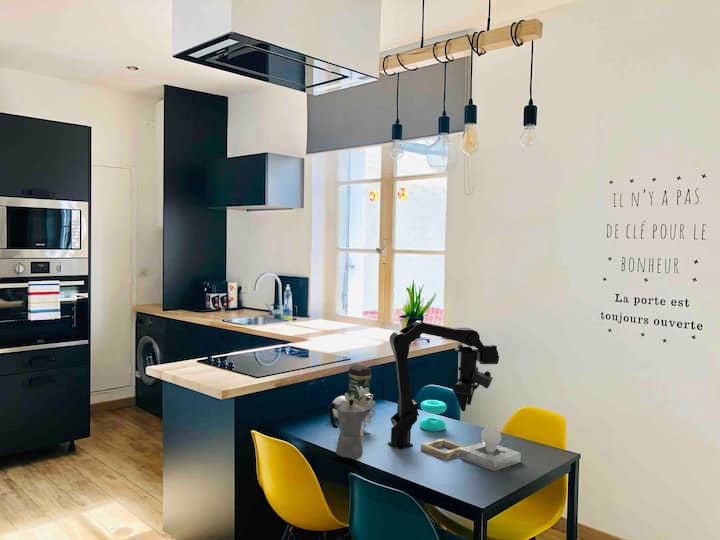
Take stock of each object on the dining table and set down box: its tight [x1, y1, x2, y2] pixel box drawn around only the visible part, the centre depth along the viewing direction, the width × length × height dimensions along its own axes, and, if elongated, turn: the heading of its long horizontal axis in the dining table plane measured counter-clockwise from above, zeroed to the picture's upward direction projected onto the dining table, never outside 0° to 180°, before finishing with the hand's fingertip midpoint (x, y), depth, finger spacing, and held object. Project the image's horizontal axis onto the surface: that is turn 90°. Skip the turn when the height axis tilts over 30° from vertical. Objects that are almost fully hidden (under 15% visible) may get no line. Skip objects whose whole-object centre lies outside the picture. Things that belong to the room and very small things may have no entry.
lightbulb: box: [480, 426, 502, 457], centre depth 194 cm, size 6×6×11 cm
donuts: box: [419, 399, 447, 432], centre depth 226 cm, size 10×10×10 cm
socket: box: [459, 441, 522, 472], centre depth 194 cm, size 14×14×3 cm
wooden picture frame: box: [420, 438, 466, 461], centre depth 201 cm, size 11×11×2 cm
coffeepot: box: [327, 399, 370, 459], centre depth 196 cm, size 15×9×18 cm, turn 62°
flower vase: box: [332, 385, 376, 437], centre depth 225 cm, size 13×18×25 cm
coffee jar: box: [347, 364, 372, 405], centre depth 248 cm, size 10×8×19 cm
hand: (466, 407), depth 209 cm, fingers open, 9 cm apart
